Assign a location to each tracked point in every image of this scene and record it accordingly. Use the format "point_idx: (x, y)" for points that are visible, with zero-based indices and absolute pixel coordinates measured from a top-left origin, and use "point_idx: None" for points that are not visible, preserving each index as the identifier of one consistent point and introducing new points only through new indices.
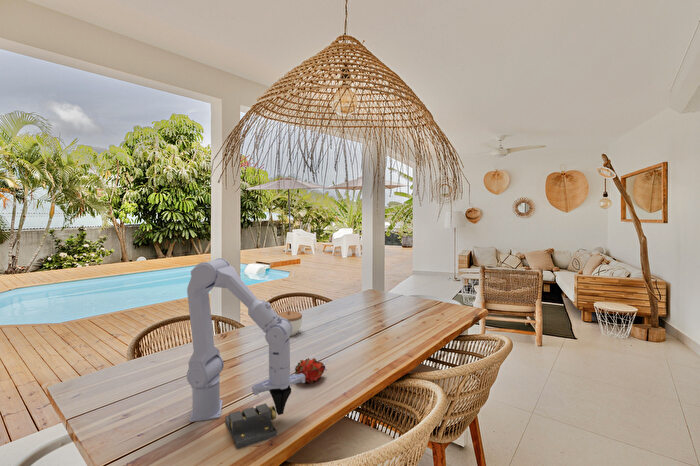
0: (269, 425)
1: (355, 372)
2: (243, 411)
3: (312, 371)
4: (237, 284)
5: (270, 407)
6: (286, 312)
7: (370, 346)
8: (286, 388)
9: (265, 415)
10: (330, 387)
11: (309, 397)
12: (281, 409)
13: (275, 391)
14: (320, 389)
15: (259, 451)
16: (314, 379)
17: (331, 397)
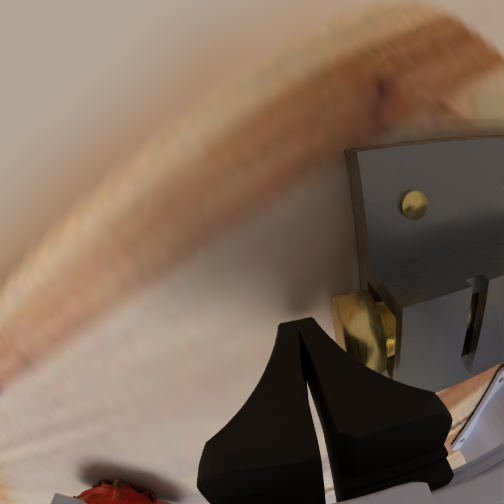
0: (389, 230)
1: (4, 453)
2: None
3: None
4: None
5: (381, 361)
6: None
7: (11, 496)
8: (260, 499)
9: (431, 285)
10: (51, 439)
11: (120, 427)
12: (298, 338)
13: (401, 465)
14: (83, 446)
15: (440, 61)
16: (106, 488)
17: (33, 390)
